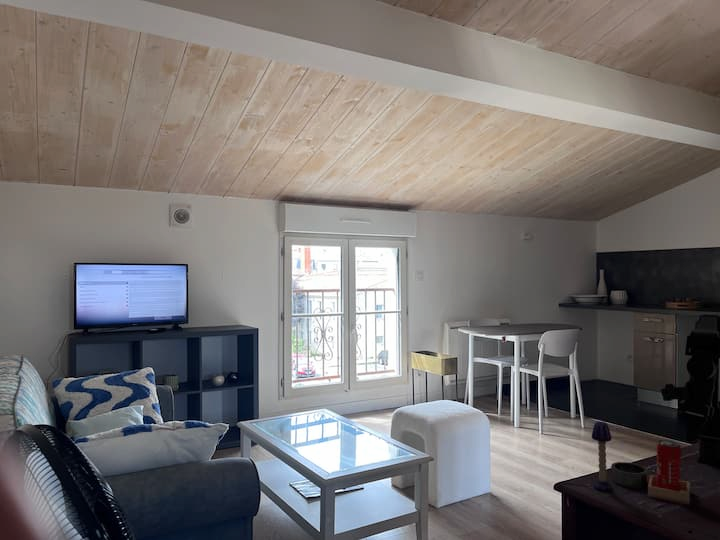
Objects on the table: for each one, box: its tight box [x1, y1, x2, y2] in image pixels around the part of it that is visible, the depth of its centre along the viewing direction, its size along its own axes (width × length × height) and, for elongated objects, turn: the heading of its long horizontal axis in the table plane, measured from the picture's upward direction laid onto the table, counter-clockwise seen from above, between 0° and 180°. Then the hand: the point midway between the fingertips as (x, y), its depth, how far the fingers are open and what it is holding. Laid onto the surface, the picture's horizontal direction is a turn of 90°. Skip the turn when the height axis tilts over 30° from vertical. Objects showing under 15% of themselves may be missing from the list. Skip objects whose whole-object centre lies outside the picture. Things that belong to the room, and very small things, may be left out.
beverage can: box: [656, 439, 682, 491], centre depth 135 cm, size 5×5×12 cm
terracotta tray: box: [647, 474, 691, 505], centre depth 135 cm, size 9×9×2 cm
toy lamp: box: [591, 421, 613, 493], centre depth 138 cm, size 5×5×17 cm
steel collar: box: [610, 461, 649, 489], centre depth 143 cm, size 8×8×4 cm
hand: (691, 441), depth 139 cm, fingers open, 9 cm apart
